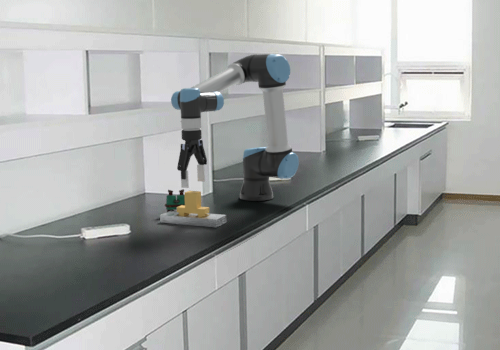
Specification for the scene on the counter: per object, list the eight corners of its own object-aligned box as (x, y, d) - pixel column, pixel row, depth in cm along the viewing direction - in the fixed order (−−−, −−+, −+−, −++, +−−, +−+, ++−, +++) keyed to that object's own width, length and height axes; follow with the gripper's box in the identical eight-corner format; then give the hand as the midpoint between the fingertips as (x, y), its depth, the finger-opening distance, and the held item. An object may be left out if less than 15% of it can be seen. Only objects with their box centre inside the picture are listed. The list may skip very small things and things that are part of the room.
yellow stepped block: (177, 222, 277) (176, 191, 275) (182, 220, 281) (181, 190, 279) (205, 224, 272) (204, 193, 270) (209, 222, 276) (209, 192, 274)
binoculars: (185, 187, 297) (187, 189, 287) (186, 213, 298) (188, 215, 288) (164, 188, 296) (165, 190, 286) (164, 213, 296) (165, 216, 287)
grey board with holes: (171, 217, 285) (171, 210, 285) (226, 222, 276) (226, 214, 275) (160, 222, 277) (160, 214, 276) (216, 227, 268) (216, 219, 267)
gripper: (197, 125, 284) (199, 178, 287) (166, 132, 261) (168, 189, 264) (214, 126, 281) (216, 179, 284) (184, 133, 258) (186, 191, 262)
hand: (193, 184), depth 274 cm, fingers open, 13 cm apart
